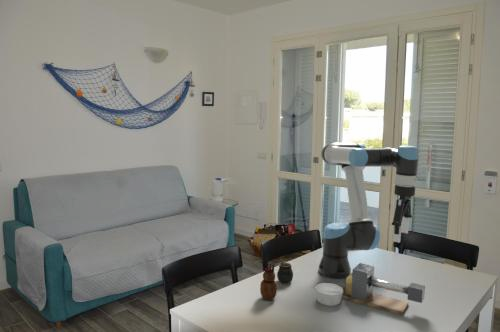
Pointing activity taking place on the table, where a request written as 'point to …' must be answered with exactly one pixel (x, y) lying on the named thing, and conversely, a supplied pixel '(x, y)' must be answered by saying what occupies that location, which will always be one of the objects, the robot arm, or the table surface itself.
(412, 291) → the shaft
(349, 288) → the brass collar
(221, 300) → the table surface
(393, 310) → the walnut board
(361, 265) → the block
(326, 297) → the ramekin
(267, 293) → the wooden figurine
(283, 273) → the mate gourd
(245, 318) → the table surface
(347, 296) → the pad
